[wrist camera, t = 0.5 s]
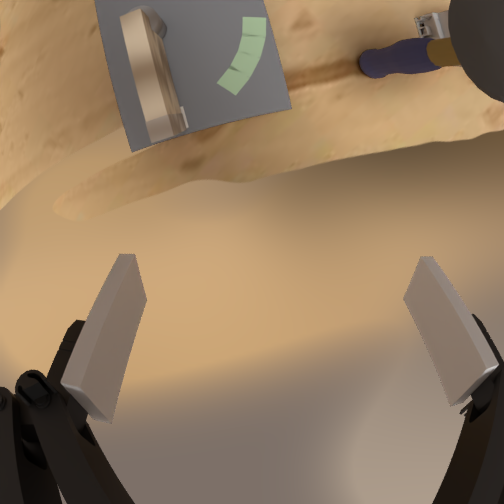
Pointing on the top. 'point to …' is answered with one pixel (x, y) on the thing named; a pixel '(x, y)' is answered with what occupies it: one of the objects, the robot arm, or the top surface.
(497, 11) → the rubber mallet
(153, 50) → the wooden block
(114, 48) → the board
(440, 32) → the circuit breaker
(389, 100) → the top surface
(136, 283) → the robot arm
